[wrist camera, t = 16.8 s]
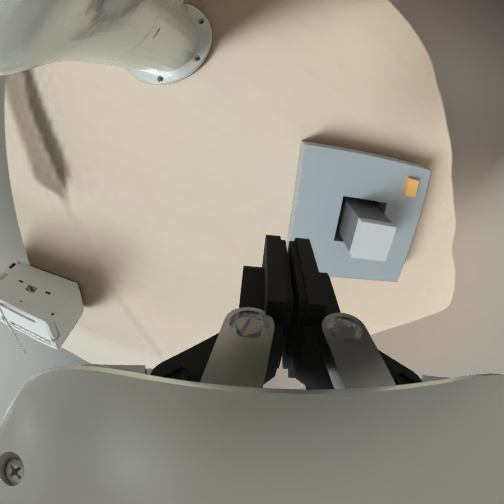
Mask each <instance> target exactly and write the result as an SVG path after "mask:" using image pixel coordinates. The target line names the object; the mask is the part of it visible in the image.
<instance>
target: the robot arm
mask: <svg viewBox="0 0 504 504" xmlns="http://www.w3.org/2000/svg"><path fill="white" fill-rule="evenodd" d="M183 1H184V0H0V75H5V74H12V73H16V72H21V71H24V70H28V69H32V68H35V67H39V66H42V65H46V64H49V63H54V62H61V61H80V62H90V63H97V64H105V65H111V66H118V67H124V68H127V70H128V71H129V72H130V74H131V75H133V76H134V77H135V78H136V79H138V80H140V81H142V82H145V83H148V84H154V85H165V84H171V83H175V82H177V81H180V80H182V79H184V78H186V77H188V76H189V75H191V74H192V73H193V72H195V71H196V70H197V69H198V68H199V67H200V66H201V65H202V63H203V62H204V60H205V59H206V57H207V56H208V53H209V51H210V49H211V44H212V29H211V25H210V23H209V21H208V19H207V18H206V17H205V15H204V14H203V13H202V12H201V11H200V10H199V9H197V8H195V7H194V6H192V5H189V4H186V3H183ZM201 22H204V23H203V24H201ZM199 57H200V60H199V61H197V58H199ZM161 78H164V79H163V81H161ZM281 357H282V363H283V368H284V369H288V377H289V378H296V379H297V380H299V381H300V382H301V386H300V387H301V389H299V390H298V389H269V388H263V385H264V384H265V383H266V382H268V381H269V380H270V379H272V378H273V377H274V376H275V374H276V370H277V368H279V365H280V361H281ZM0 504H504V375H502V374H492V373H489V374H476V375H469V376H462V377H455V378H446V377H434V376H424V375H422V376H421V378H419V376H418V375H417V374H415V373H414V372H413V371H411V370H410V369H408V368H406V367H405V366H403V365H401V364H400V363H398V362H397V361H395V360H394V359H392V358H390V357H389V356H387V355H386V354H384V353H382V352H381V351H379V350H378V349H377V347H376V345H375V343H374V342H373V340H372V338H371V336H370V334H369V332H368V331H367V329H366V327H365V326H364V324H363V323H362V322H361V321H360V320H359V319H357V318H356V317H354V316H352V315H349V314H345V313H340V309H339V306H338V303H337V300H336V296H335V293H334V290H333V287H332V284H331V281H330V277H329V275H328V273H324V272H319V270H318V266H317V263H316V259H315V256H314V253H313V249H312V246H311V243H310V240H309V239H305V238H295V239H294V241H289V244H288V250H287V247H286V241H285V240H281V237H280V236H273V235H266V239H265V247H264V256H263V264H262V267H251V266H244V268H243V277H242V286H241V295H240V304H239V308H238V309H235V310H233V311H231V312H230V313H228V315H227V316H226V318H225V319H224V322H223V325H222V327H221V330H220V332H219V333H218V334H216V335H214V336H212V337H211V338H209V339H207V340H205V341H203V342H201V343H199V344H197V345H195V346H193V347H191V348H190V349H188V350H186V351H184V352H182V353H180V354H178V355H176V356H174V357H172V358H170V359H168V360H166V361H164V362H162V363H160V364H159V365H157V366H156V367H155V368H154V369H146V367H145V365H98V364H86V365H81V366H62V367H55V368H49V369H46V370H42V371H40V372H38V373H36V374H35V375H33V376H32V377H31V378H30V379H29V380H28V381H27V382H25V384H24V385H23V386H22V388H21V389H20V390H19V392H18V393H17V395H16V396H15V397H14V399H13V400H12V402H11V403H10V405H9V407H8V409H7V410H6V412H5V414H4V416H3V418H2V420H1V422H0Z"/></svg>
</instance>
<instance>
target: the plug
mask: <svg viewBox="0 0 504 504" xmlns="http://www.w3.org/2000/svg"><path fill="white" fill-rule="evenodd" d="M396 228H397V227H396V226H395V225H394V224H393V223H392V222H391V221H390V220H389V219H388V218H387V216H386V215H385V214H384V213H383V212H382V211H381V210H380V209H379V208H378V207H377V206H376V205H375V204H374V203H373V202H372V201H371V200H366V199H360V198H353V197H347V196H343V200H342V205H341V210H340V215H339V219H338V224H337V229H338V231H339V233H340V235H341V237H342V239H343V241H344V243H345V245H346V247H347V249H348V251H349V253H350V255H351V257H352V258H359V259H368V260H376V261H386V258H387V255H388V252H389V249H390V246H391V243H392V240H393V237H394V234H395V231H396Z"/></svg>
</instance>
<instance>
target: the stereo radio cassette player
mask: <svg viewBox="0 0 504 504" xmlns="http://www.w3.org/2000/svg"><path fill="white" fill-rule="evenodd" d="M83 311H84V308H83V302H82V297H81V293H80V290H79V287H78V283H76V282H73V281H71V280H68V279H65V278H62V277H59V276H56V275H54V274H51V273H48V272H45V271H43V270H40V269H38V268H35V267H32V266H30V265H27V264H25V263H22V262H19V261H15V262H13V263H11V264H10V265H9V266H8V267H7V268H6V269H5V270H4V271H3V272H2V273H1V274H0V321H2V322H3V323H5V324H7V325H8V327H9V329H10V330H11V332H12V334H13V335H14V337H15V338H16V340H17V341H18V339H17V337H16V335H15V333H14V332H13V330H12V328H11V327H13V328H14V329H16V330H18V331H20V332H22V333H24V334H26V335H28V336H29V337H32V338H34V339H35V340H37V341H40V342H42V343H44V344H46V345H48V346H50V347H52V348H55V349H59V348H60V347H61V345H62V344H63V343H64V341H65V340H66V338H67V337H68V335H69V334H70V332H71V331H72V329H73V328H74V326H75V324H76V323H77V321H78V320H79V318H80V317H81V315H82V313H83ZM18 343H19V341H18ZM19 345H20V343H19ZM20 346H21V345H20ZM21 347H22V346H21ZM22 349H23V348H22ZM23 352H24V353H26V351H25V350H24V349H23Z"/></svg>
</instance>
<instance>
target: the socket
mask: <svg viewBox="0 0 504 504" xmlns="http://www.w3.org/2000/svg"><path fill="white" fill-rule="evenodd" d="M430 174H431V170H429V169H427V168H425V167H423V166H421V165H419V164H416V163H412V162H408V161H405V160H401V159H397V158H392V157H388V156H384V155H379V154H375V153H370V152H365V151H360V150H355V149H350V148H345V147H339V146H333V145H327V144H321V143H315V142H308V141H301V147H300V155H299V162H298V170H297V177H296V184H295V191H294V198H293V205H292V212H291V219H290V225H289V232H288V238H287V245H286V247H287V250H288V244H289V241H294V239H295V238H305V239H309V240H310V243H311V246H312V249H313V253H314V256H315V259H316V263H317V266H318V270H319V272H324V273H328V275H329V277H339V278H352V279H365V280H378V281H391V282H397V281H398V278H399V276H400V273H401V270H402V268H403V265H404V262H405V259H406V256H407V254H408V251H409V248H410V245H411V242H412V239H413V236H414V232H415V229H416V226H417V223H418V219H419V216H420V213H421V209H422V206H423V202H424V198H425V194H426V190H427V186H428V182H429V178H430ZM343 196H347V197H353V198H360V199H366V200H372V201H375V205H376V206H377V207H378V208H379V209H380V210H381V211H382V212H383V213H384V214H385V215H386V216H387V218H388V219H389V220H390V221H391V222H392V223H393V224H394V225H395V226H396V227H397V228H396V231H395V234H394V237H393V240H392V243H391V246H390V249H389V252H388V255H387V258H386V261H376V260H368V259H359V258H352V257H351V255H350V253H349V251H348V249H347V247H346V245H345V243H344V241H343V239H342V237H341V235H340V233H339V231H338V230H337V229H336V228H337V224H338V219H339V215H340V210H341V205H342V200H343Z"/></svg>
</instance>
